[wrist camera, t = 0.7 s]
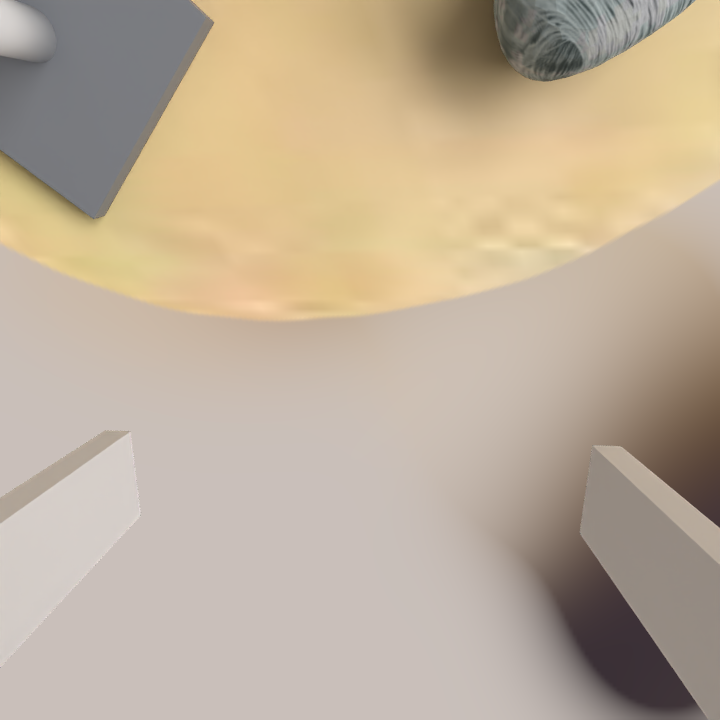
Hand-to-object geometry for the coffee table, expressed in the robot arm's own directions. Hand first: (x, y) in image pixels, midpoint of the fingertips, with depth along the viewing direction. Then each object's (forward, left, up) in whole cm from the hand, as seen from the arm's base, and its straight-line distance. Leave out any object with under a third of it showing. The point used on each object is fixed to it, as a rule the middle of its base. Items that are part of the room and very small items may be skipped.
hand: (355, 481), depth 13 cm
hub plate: (+3, -26, -25) cm, 36 cm away
